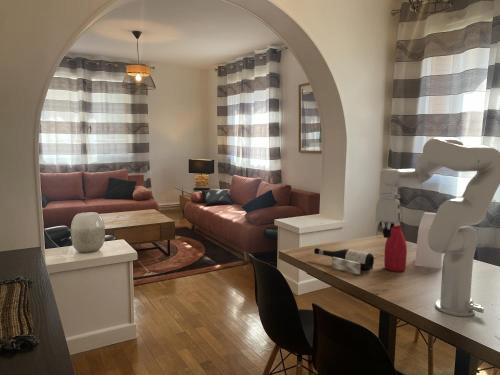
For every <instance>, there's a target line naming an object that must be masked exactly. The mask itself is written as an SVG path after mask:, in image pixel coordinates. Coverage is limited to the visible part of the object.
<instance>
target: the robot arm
mask: <svg viewBox="0 0 500 375" xmlns="http://www.w3.org/2000/svg"><path fill="white" fill-rule="evenodd" d="M416 163H417V166H415V167H414V168H401V169H400V168H399V169H396V168H382V169H381V170H380V171H379V195H378V199H377V200H376V207H375V214H374V215H375V216H374V217H375V223H376V224H378V225H380V226H381V228H382V231H383V232H382V235H383V238H385V239H387V238H389V237H390V236H391V230H392V228H393V227H394V226H399V225H400V226H401V220H402V215H401V214H402V209H401V202H400V200H399V199H401V195H400V194H399V193H398V189H399V188H404V187H405V188H407V187H417V186H419V185H421V184H423V183H425V182H428V181H429V180H431V178H432V177H433V175H434V173H435V172H436V171H439V170H440V169H442V168H446V169H449V170H452V171H453V172H454V171H455V172H460V173H461V172H463V173H466V172H476V173H475V175H474V176H473V177H472V178H471V179H470V180H469V181H468V183H467V185H466V187H465V189H464V192H463V194H462V195H461V197H459V198H451V199H447V200H445V201H444V202H443V203H441V204H440V205H439V206H438V208H437V211H436V212H435V213H436V215H435V218H434V220H433V223H432V225H431V228H430V230H429V233H428V244H429V247H430V248H431V249H432V250H433V251H434V252H436V253H441V254H442V255H443V254H444V255H443V258H442V269H441V281H440V282H441V285H440V299H437V301H436V302H435V304H434V305H435V308H436V309H437V310H439V311H440V312H442V313H444V314H447V315H450V316H454V317H463V316H464V317H465V318H466V317H471V316H473V315H475V312H477V313H481V314H483V313H484V311H485V308H484V307H482V305H481V304H477V303H475V302H474V301H473V298H471V297H472V296H471V294H472V283H473V282H472V281H473V280H472V279H473V269H474V257H475V253H476V250H477V246H478V242H479V241H478V239H479V238H478V234H477V232H476V230H475V229H474V228H473V227H472V226H475V225H479V224H480V223H481V222H483V220H484V218H485V216H486V214H487V212H488V210H489V208H490V205H491V203H492V202H493V199H494V197H495V194H496V193H497V190H498V189H499V187H500V151H499V150H498V149H496V148H495V147H491V146H487V145H464V143H463V142H462V141H461V140H459V139H458V138H454V137H433V138H430V139H428V140H426V142H425V143H424V144H423V147H422V153H420V154H419V155H418V157H417V162H416ZM399 221H400V222H399ZM464 317H463V318H464Z"/></svg>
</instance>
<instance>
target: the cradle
mask: <svg viewBox="0 0 500 375" xmlns="http://www.w3.org/2000/svg"><path fill="white" fill-rule="evenodd" d="M360 264H361V263H358V262H354V261H350V260H346V259H341V258H337V257H331V270H333V271H336V272H340V273H344V274H347V275H352V276H355V277H360V276H363V274H366V273H368V272H370V271H372V270H373V269H374V266H373V267H372V268H371V269H370V270H364V269H360Z"/></svg>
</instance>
